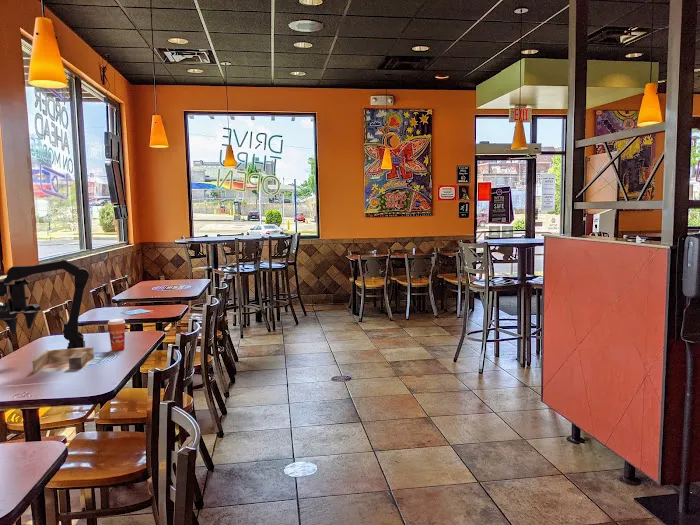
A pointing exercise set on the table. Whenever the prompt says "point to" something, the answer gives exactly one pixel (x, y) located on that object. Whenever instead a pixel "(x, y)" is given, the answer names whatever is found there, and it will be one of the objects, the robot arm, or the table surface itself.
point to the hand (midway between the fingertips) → (21, 331)
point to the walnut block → (78, 360)
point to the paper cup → (117, 334)
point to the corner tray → (59, 359)
